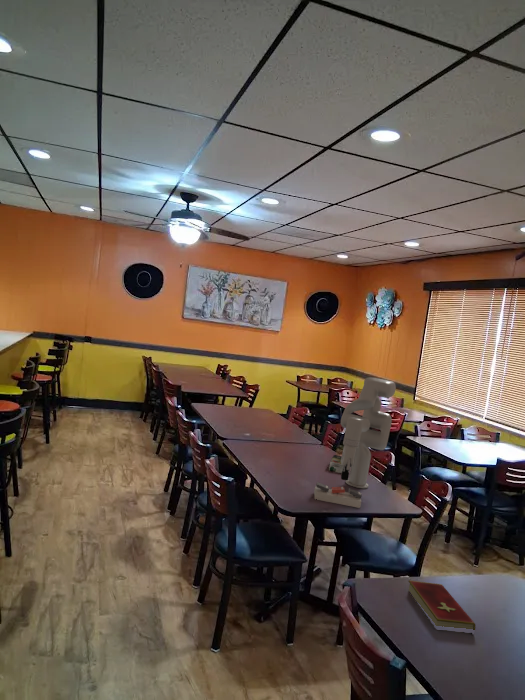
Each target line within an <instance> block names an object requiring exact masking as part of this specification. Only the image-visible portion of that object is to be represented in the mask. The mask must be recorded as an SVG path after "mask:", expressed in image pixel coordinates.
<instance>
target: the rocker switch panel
mask: <svg viewBox="0 0 525 700" xmlns="http://www.w3.org/2000/svg"><path fill="white" fill-rule="evenodd" d="M313 496H314V500H316V499H317V501H322V502H327V503H333V504H338V505H343V506H349V507H354V508H358V509H359V508H360V509H361V505H362V497H361V498H359V497H357V496H354V495H352V494H349V491H345V493H332V488H329V491H328V492H327V491H324V490H322V489H320V488H317V487H316V485H315V486H314V490H313Z"/></svg>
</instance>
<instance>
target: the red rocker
mask: <svg viewBox="0 0 525 700" xmlns="http://www.w3.org/2000/svg"><path fill="white" fill-rule="evenodd" d="M331 489H332V493H345V492H346V490H345V486H332V487H331Z"/></svg>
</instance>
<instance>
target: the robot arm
mask: <svg viewBox="0 0 525 700" xmlns="http://www.w3.org/2000/svg"><path fill="white" fill-rule="evenodd" d="M396 387H397V386H396V383H395V382H394V381H392V380H386V379H384V378H383V379H382V378H378V377H371V376H370V377H366V378H364V381H363V386H362V389H361V391H360V393H359V397H358V398H357V399H355V400H353V401H351V402H350V403H348V404H347V405H346V407H345V409H344V410H343V413H342V416H341V418H340V425H341V427H342V428H343V429H345V432H344V437H343V441H342V445H343V449H342V454H341V457H342V458H341V464H342V466H343V471H342V473H341V475H340V478H341V480H343V481H345V483H346V484H347V485H348V486H351V487H352V488H357V489H368V488H369V483H367V480H368V474H369V470H370V463H371V459H372V453H371V451H370V449H369V448H371V449H375V450H378V451H384V450H386V448H387V445H388V441H389V437H390V432H391V427H392V421H393V420H392V416H391V414H390V413H386V412H383V411H381V406H382V401H381V398H383V399H384V398H386V399H390V398H391V397H393V396H394V395H395V393H396V390H397V388H396ZM359 411H363V413H362V416H361V415H356V414H353V413H355V412H359ZM370 428H373V429H370ZM374 429H375V430H374ZM377 430H380V431H377Z"/></svg>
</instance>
